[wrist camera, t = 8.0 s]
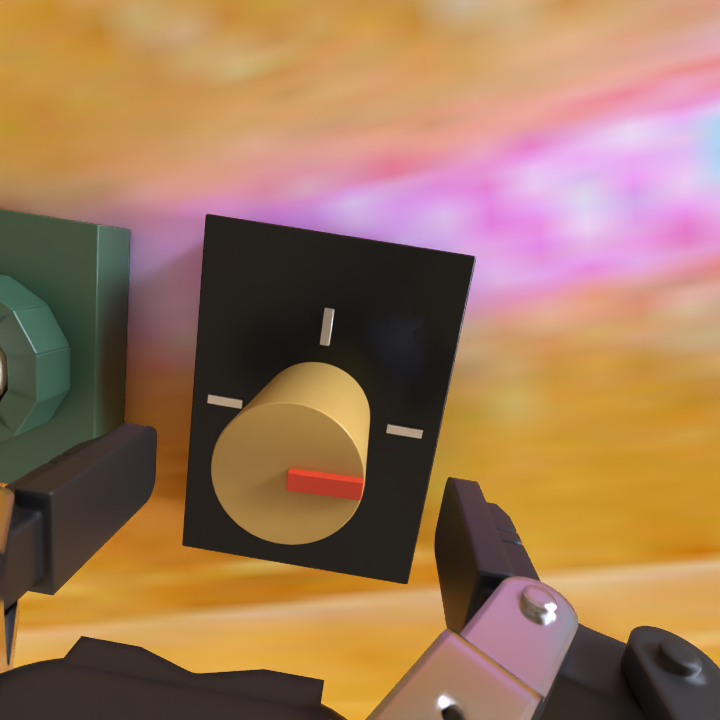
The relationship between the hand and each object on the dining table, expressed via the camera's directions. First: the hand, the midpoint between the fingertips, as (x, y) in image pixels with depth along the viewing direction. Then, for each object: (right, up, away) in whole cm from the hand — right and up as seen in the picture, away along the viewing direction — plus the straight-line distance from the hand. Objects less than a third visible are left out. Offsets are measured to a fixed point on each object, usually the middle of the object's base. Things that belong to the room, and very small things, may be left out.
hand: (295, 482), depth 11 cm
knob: (0, +1, +5) cm, 5 cm away
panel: (0, +2, +8) cm, 9 cm away
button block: (-14, +4, +9) cm, 17 cm away
